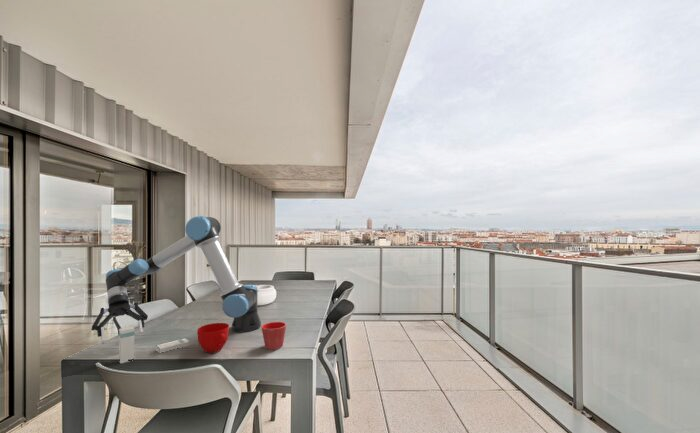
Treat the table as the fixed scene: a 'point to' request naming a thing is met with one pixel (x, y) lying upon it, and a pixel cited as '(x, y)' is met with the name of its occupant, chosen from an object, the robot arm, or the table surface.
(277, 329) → the flower pot
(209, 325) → the ceramic cup
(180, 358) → the table surface
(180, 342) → the strip
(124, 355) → the stub
